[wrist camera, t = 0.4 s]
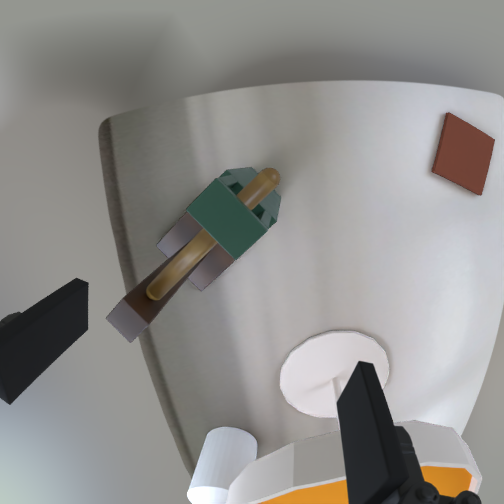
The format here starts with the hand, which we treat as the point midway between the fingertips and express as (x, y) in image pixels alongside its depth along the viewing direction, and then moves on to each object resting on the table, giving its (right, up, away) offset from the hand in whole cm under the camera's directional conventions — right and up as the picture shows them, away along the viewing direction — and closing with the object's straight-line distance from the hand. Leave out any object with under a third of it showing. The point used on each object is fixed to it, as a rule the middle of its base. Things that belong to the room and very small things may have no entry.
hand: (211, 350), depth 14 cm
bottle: (-3, -37, +46) cm, 59 cm away
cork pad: (+35, +20, +26) cm, 48 cm away
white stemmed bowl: (+17, -18, +39) cm, 46 cm away
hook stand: (-2, +9, +33) cm, 34 cm away
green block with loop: (+3, +13, +31) cm, 34 cm away
